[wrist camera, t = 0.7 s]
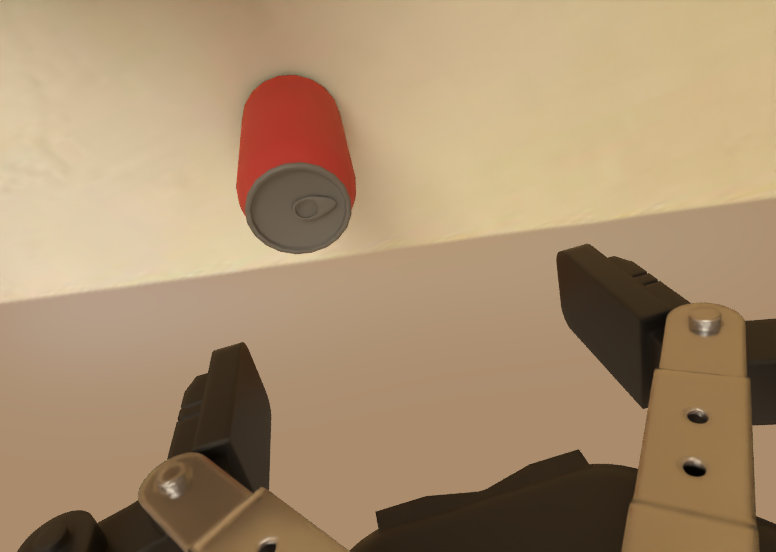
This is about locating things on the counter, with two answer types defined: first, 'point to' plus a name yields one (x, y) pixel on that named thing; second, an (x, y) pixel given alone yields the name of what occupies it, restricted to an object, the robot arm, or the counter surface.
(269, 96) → the beer can
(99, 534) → the robot arm
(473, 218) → the counter surface
